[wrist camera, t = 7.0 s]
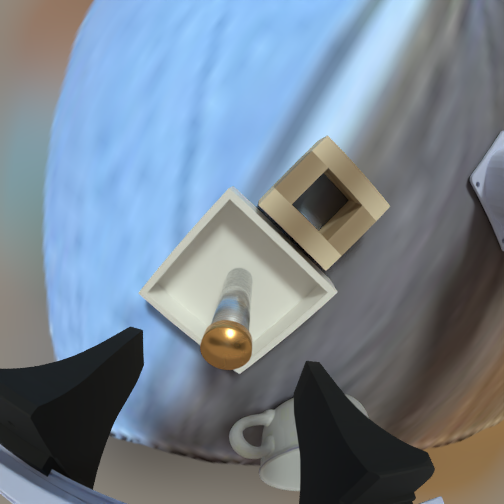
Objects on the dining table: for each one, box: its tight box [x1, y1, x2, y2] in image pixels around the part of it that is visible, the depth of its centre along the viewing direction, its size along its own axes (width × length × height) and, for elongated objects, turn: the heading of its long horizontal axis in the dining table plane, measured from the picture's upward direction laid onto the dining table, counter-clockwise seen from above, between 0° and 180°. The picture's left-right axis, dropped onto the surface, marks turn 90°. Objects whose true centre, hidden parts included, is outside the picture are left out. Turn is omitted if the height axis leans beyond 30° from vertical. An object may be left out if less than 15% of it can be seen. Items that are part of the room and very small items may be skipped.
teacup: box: [229, 394, 369, 491], centre depth 21 cm, size 14×11×8 cm
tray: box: [139, 186, 337, 374], centre depth 20 cm, size 10×10×2 cm
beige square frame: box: [259, 136, 390, 271], centre depth 18 cm, size 6×6×3 cm
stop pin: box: [200, 268, 253, 370], centre depth 17 cm, size 2×2×9 cm
